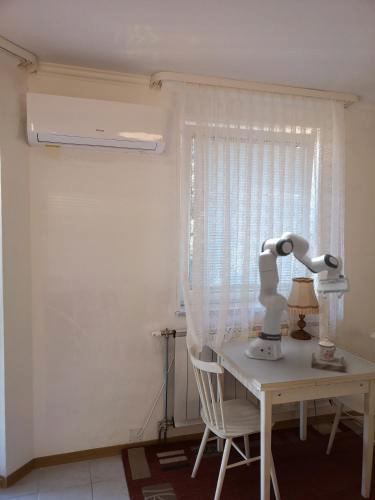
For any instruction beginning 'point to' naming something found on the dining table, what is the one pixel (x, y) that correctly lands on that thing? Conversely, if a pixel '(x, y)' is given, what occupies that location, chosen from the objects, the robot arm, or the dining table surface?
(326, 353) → the teacup with lid
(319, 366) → the walnut tea frame
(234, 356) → the dining table surface
